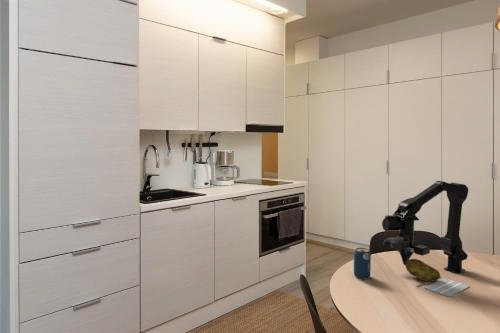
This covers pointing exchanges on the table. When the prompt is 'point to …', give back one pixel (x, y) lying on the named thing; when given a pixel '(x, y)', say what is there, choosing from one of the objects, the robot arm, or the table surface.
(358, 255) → the soda can
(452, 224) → the robot arm
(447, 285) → the mat
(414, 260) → the potato
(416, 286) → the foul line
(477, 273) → the table surface
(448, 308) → the table surface
